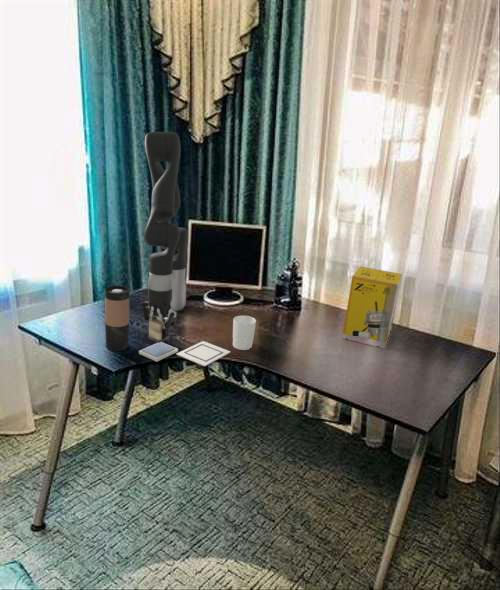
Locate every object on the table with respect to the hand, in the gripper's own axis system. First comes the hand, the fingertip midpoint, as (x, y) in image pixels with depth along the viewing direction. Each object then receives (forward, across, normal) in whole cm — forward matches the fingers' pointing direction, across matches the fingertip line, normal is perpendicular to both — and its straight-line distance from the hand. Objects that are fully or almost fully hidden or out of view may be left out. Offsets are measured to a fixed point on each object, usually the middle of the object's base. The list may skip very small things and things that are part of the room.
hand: (158, 335), depth 159 cm
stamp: (+1, 0, 0) cm, 1 cm away
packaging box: (+6, -47, -66) cm, 81 cm away
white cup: (+6, -17, -24) cm, 30 cm away
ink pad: (+6, 0, 0) cm, 6 cm away
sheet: (+6, -11, -10) cm, 16 cm away
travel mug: (+6, +13, +6) cm, 16 cm away
